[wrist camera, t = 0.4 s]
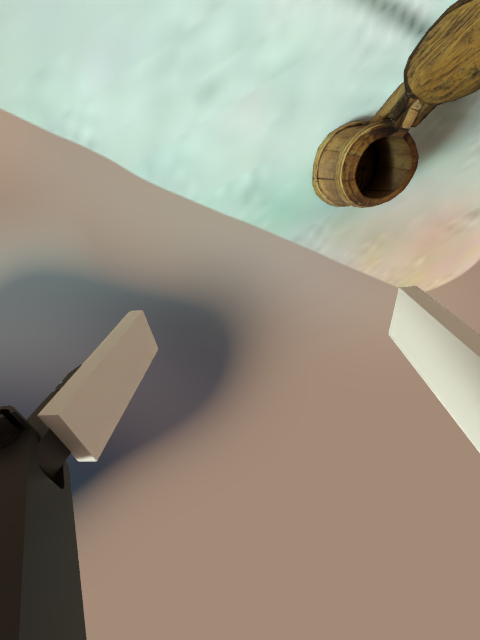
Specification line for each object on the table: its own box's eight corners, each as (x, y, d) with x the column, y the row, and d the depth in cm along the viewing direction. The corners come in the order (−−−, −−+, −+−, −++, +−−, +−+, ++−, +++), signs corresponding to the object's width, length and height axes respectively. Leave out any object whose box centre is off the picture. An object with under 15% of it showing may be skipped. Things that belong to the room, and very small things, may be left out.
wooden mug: (422, 86, 27) (632, -15, 12) (361, 213, 34) (442, 252, 19) (347, 61, 26) (469, -81, 11) (301, 196, 34) (335, 221, 18)
